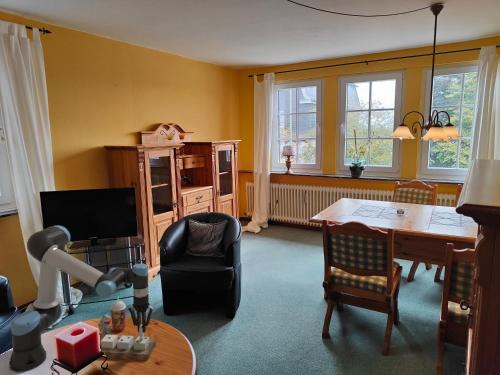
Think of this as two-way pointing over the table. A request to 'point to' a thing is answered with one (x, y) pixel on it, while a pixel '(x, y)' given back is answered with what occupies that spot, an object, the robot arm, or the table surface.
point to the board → (130, 351)
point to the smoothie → (118, 315)
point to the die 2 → (125, 342)
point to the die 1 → (109, 341)
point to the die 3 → (141, 343)
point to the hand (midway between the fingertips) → (141, 337)
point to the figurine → (105, 325)
